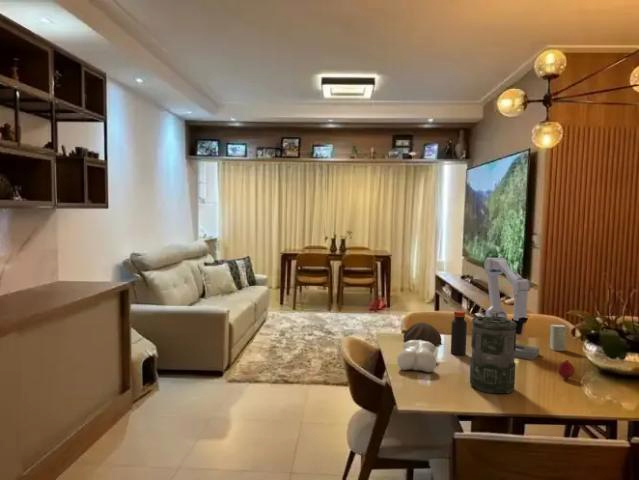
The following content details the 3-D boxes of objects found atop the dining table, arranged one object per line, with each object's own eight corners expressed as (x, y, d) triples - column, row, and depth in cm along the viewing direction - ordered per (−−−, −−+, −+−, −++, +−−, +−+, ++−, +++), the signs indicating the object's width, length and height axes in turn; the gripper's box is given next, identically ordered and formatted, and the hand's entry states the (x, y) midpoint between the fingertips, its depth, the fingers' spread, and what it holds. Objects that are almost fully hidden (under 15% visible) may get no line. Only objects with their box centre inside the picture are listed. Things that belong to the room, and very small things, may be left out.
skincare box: (562, 348, 241) (563, 324, 240) (565, 351, 236) (566, 326, 236) (549, 348, 241) (550, 324, 241) (552, 350, 237) (553, 326, 236)
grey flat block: (496, 353, 229) (497, 346, 229) (504, 348, 239) (504, 342, 238) (532, 360, 219) (533, 353, 219) (538, 354, 229) (539, 347, 229)
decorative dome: (398, 337, 258) (399, 318, 258) (435, 337, 260) (435, 318, 259) (407, 346, 239) (408, 326, 239) (446, 346, 240) (447, 326, 240)
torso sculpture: (435, 381, 194) (437, 353, 222) (436, 355, 192) (437, 331, 221) (396, 376, 198) (402, 350, 226) (396, 352, 196) (403, 328, 225)
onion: (567, 382, 189) (568, 362, 189) (554, 377, 194) (555, 358, 194) (577, 380, 192) (578, 360, 192) (563, 376, 197) (564, 356, 197)
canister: (509, 398, 170) (512, 319, 169) (464, 389, 179) (467, 314, 178) (517, 385, 184) (520, 312, 183) (475, 377, 192) (478, 308, 191)
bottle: (449, 354, 225) (451, 312, 224) (451, 351, 231) (453, 309, 231) (464, 356, 223) (466, 313, 222) (466, 352, 229) (467, 311, 228)
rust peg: (514, 339, 228) (515, 323, 228) (516, 338, 231) (517, 321, 231) (522, 341, 226) (523, 324, 226) (524, 339, 229) (525, 323, 229)
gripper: (525, 307, 220) (524, 337, 221) (533, 303, 232) (531, 332, 232) (509, 306, 224) (508, 334, 225) (517, 302, 236) (516, 329, 236)
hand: (519, 333), depth 229 cm, fingers closed on rust peg, 3 cm apart
